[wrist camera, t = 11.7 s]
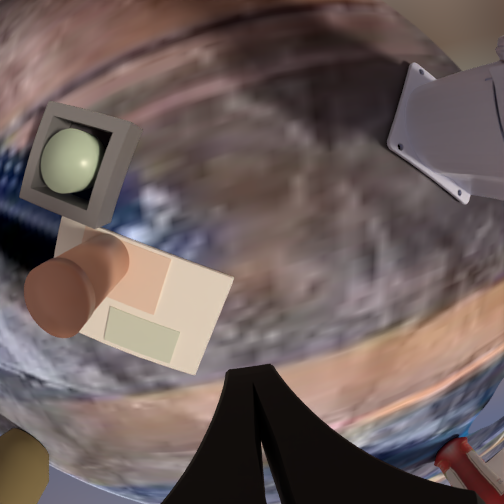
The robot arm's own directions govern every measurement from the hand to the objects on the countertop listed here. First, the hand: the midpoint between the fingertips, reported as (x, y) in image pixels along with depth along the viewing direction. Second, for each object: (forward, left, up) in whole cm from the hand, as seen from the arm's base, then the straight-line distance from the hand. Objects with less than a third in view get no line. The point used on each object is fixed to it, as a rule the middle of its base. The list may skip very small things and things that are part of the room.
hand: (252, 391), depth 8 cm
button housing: (+12, -4, -10) cm, 16 cm away
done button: (+11, -4, -10) cm, 15 cm away
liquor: (-43, +17, -11) cm, 47 cm away
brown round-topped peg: (+8, +1, -10) cm, 13 cm away
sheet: (+6, +4, -10) cm, 13 cm away
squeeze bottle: (+16, +30, -11) cm, 36 cm away
